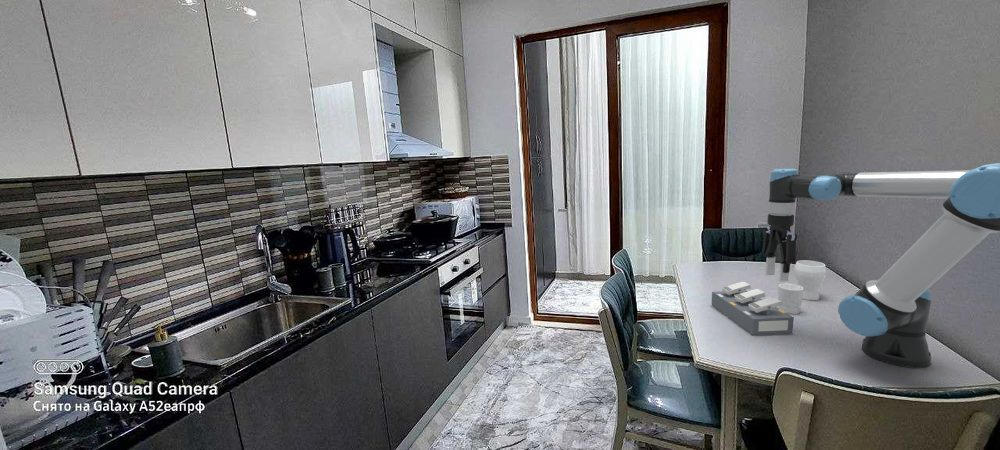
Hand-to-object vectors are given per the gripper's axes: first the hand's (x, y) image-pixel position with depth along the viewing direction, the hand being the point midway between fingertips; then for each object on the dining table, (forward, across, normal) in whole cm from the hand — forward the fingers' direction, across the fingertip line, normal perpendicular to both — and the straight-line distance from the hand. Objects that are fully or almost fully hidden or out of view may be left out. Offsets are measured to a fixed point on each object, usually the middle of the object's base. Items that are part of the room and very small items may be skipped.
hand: (776, 277), depth 141 cm
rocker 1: (+10, +18, +4) cm, 21 cm away
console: (+19, +9, +4) cm, 21 cm away
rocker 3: (+10, 0, +4) cm, 11 cm away
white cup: (+19, +14, -16) cm, 28 cm away
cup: (+19, +27, -32) cm, 46 cm away
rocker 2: (+10, +9, +4) cm, 14 cm away
